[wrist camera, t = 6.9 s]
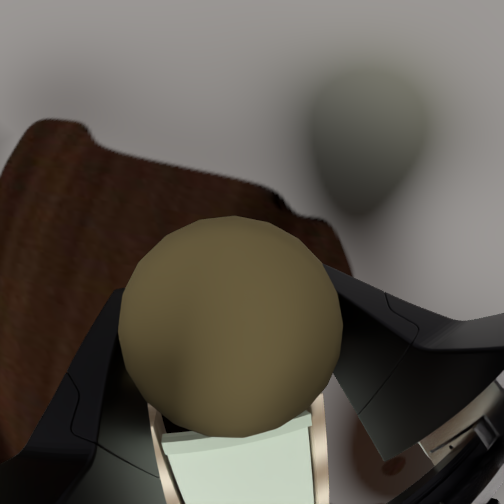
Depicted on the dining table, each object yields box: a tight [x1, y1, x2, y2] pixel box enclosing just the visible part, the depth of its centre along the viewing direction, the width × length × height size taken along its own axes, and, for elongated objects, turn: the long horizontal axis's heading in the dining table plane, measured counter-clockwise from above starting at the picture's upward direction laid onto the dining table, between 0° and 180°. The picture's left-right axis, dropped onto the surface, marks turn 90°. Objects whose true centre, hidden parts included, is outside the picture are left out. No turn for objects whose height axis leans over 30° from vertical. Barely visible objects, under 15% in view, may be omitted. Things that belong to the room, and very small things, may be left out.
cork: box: [118, 216, 343, 438], centre depth 10 cm, size 6×6×11 cm
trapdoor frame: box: [148, 393, 329, 504], centre depth 16 cm, size 16×13×5 cm
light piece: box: [161, 410, 314, 504], centre depth 15 cm, size 15×10×3 cm, turn 8°
